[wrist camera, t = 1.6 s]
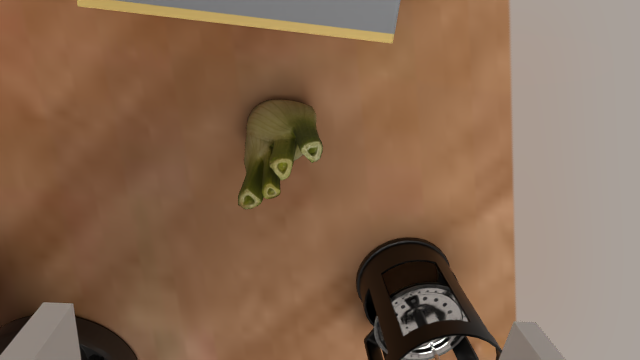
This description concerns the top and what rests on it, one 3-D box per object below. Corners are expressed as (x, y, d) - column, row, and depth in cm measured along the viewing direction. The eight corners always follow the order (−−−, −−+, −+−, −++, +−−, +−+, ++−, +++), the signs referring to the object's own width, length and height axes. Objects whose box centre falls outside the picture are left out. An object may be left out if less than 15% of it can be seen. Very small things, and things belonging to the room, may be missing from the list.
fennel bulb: (309, 87, 32) (322, 130, 21) (321, 144, 34) (338, 212, 23) (237, 102, 32) (212, 154, 21) (253, 159, 34) (238, 233, 23)
